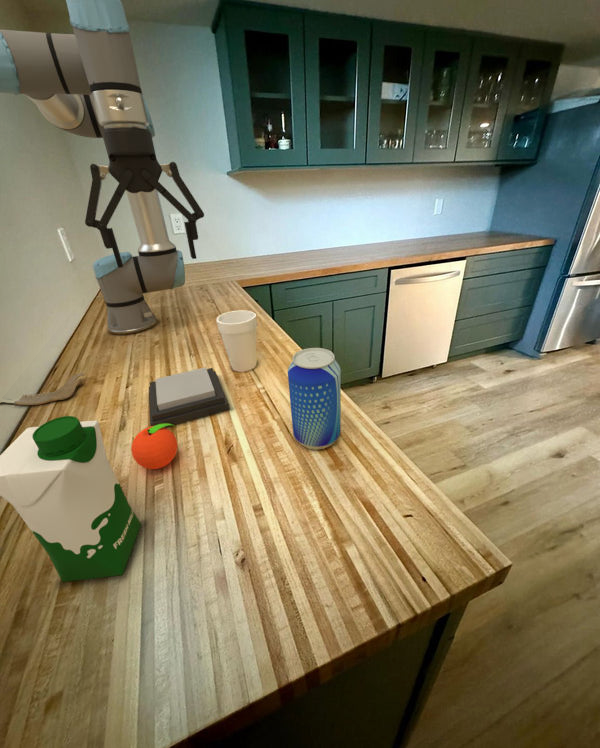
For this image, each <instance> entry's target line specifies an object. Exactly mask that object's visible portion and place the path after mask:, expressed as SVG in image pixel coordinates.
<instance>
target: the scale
mask: <svg viewBox="0 0 600 748" xmlns="http://www.w3.org/2000/svg"><path fill="white" fill-rule="evenodd" d="M206 369H207V371H208V374H209V377H210V380H211V382H212V385H213V388H214V391H215V395H216V396H214V397H210V398H207V399H203V400H199V401H195V402H191V403H187V404H184V405H180V406H176V407H172V408H168V409H164V410H161V411H159V409H158V406H157V395H156V381H155V380H154V381H150V382H149V386H148V400H149V425H150V427H151V426H155V425H158V424H165V423H167V424H172V425H168V426H165V427H164V428H168V427H174V426H173V425H175V426H176V425H180V424H183V423H187V422H191V421H193V420H197V419H201V418H205V417H208V416H212V415H215V414H216V415H217V414H219V413H224V412H226V411H230V404H229V401H228V398H227V397H226V394H225V391H224V389H223V386H222V383H221V382H220V379H219V377H218V374H217V372H216V370H214V369H213V367H210V368H206Z"/></svg>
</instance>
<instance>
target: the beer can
mask: <svg viewBox="0 0 600 748" xmlns="http://www.w3.org/2000/svg"><path fill="white" fill-rule="evenodd" d="M335 357H336V356H335V354H334V353H333V351H331V350H329V349H326V348H322V347H309V348H304V349H303V348H302V349H300V350H299V351H297V352H295V353H294V354H293V355H292V358H291V363H290V364H289V366H288V368H287V381H288V393H289V403H290V414H291V415H290V416H291V423H292V424H291V425H292V434H293V437H294V439H295V440H296V442H299V444H300V445H301V446H303V447H304V448H307V449H309V450H316V451H317V450H324V449H327V448H329V447H331V446H333V444H335V442H337V440H338V439H339V437H340V436H341V432H342V431H341V428H342V425H341V424H342V422H341V419H342V418H341V417H342V414H341V413H342V412H341V409H342V407H341V406H342V405H341V403H342V402H341V401H342V398H341V397H342V395H341V394H342V393H341V392H342V391H341V390H342V389H341V388H342V387H341V385H342V383H341V382H342V381H341V379H342V378H341V377H342V375H341V371H342V370H341V367H340V366H341V365H340V364H339V363H338V362H337V360H336V358H335Z"/></svg>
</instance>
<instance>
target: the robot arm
mask: <svg viewBox="0 0 600 748" xmlns="http://www.w3.org/2000/svg"><path fill="white" fill-rule="evenodd" d="M65 2H66V6H67V10H68V11H67V12H68V15H69V22H70V26H71V27H72V30H73V33H57V32H55V33H54V32H41V31H40V32H39V31H24V30H12V29H0V93H2V94H13V95H14V96H19V95H25V97H27V98H28V99H29V100H30V101H31V102H33V103H34V105H36V106H37V108H38V111H39V112H40V113H41V115H42V116H43V117H44V118H45V120H47V121H48V122H49V123H50V124H52V125H53V126H55V127H56V128H58V129H59V130H62V131H64V132H66V133H69V134H72V135H76V136H79V137H84V138H89V139H90V138H91V139H103V143H104V146H105V147H104V148H105V151H106V154H107V159H108V165H100V164H99V165H98V164H96V163H91V164H90V166H89V169H90V174H91V185H90V191H89V197H88V201H87V202H88V203H87V208H86V209H87V210H86V214H85V219H84V224H85V225H86V226H87V227H90V228H95V229H97V230H98V231H99V233H100V237H101V240H102V242H103V245H104V247H105V248H106V250H108V249H112V253H113V254H110V255H107V256H103V257H101V258H99V259H97V260H95V261H94V262H93V264H92V267H93V268H92V269H93V271H94V276H95V279H96V281H97V283H98V286H99V289H100V291H101V295H102V297H103V301H104V302H105V305H106V309H107V310H106V312H107V313H106V314H107V315H106V316H107V317H106V318H107V319H106V321H107V322H106V325H107V329H108V332H109V333H110V334H113V335H118V336H119V335H120V336H123V335H131V334H137V333H140V332H144V331H146V330H148V329H151V328H153V327H154V326H155V325H156V324H157V323H158V320H157V317H156V315H155V313H154V311H152V309H151V307H150V306H149V305H148V303H147V301H146V299H145V296H144V294H149V293H154V292H160V291H162V292H163V291H169V290H171V291H172V290H173V289H179V288H182V287H183V286H184V285H185V284H186V271H185V270H186V269H185V262H184V256H183V255H184V254H183V252H182V251H181V250H180V249H177V245H176V244H175V243H173V242H172V241H171V240H170V237H169V233H168V229H167V225H166V221H165V217H164V216H165V215H164V213H163V208H162V204H161V200H160V195H161V196H162V197H163V198H164V199H165V200H166V201H167V202H168V203H170V205H172V206H173V207H174V208H175V209H176V210H177V211H178V212H179V213H180V214H181V215H182V216H183V217H184V218H185V219H186V220H187V221H184V222H183V223H184V229H185V235H186V239H187V244H188V249H189V254H190V257H191V259H192V260H195V259H197V253H196V248H195V242H194V241H197V240H199V234H198V233H199V232H198V228H197V221H198V220H200V219H203V218H204V217H205V213H204V211H203V209H202V208H201V206H200V205H199V203H198V202H197V200H196V199H195V197H194V195H193V194H192V192H191V191H190V189H189V188H188V186H187V185H186V183H185V182H184V179H183V178H182V177H181V175H180V172H179V169H178V165H177V163H176V161H171V162H169V163H162V164H160V163H159V161H158V159H157V154H156V150H155V145H154V140H153V138H154V137H155V136H156V131H155V127H154V124H153V120H152V117H151V114H150V111H149V107H148V104H147V102H146V99H145V97H144V95H143V90H142V87H141V82H140V78H139V72H138V67H137V63H136V56H135V53H134V48H133V42H132V38H131V34H130V31H131V29H130V26H129V24H128V20H127V18H126V11H125V8H124V5H123V3H122V1H121V0H65ZM163 173H165V174H166V176H167V177H168V178H172V181H173V182H174V183H175V185H176V187H177V188H178V190H179V191H180V192H181V194H182V196H183V197H184V199H185V200H186V202H187V203H188V204H189V206H190V207H191V209H192V211H193V212H190V211H189V210H188V209H187V208H186V206H184V205H183V204H182V203H181V202H180V201H179V200H178V199H177V198H176V197H175V196H174V195H173V194H172V193H171V192H170V191H169V190H168V189H167V188H166V187H165V186H164V185H163V184H162V183H160V181H159V180H160V178H161V176H162V174H163ZM108 174H109V175H110V176H111V177H112V178H114V179H115V180H116V182H117V183H118V185H117V187H116V189H115V190H114V192H113V195H112V196H111V198H110V200H109V202H108V204H107V206H106V208H105V210H104V212H103V213H102V215H101V217H100V220H98V219H96V217H97V213H98V212H97V211H98V206H99V201H100V196H101V189H102V184H103V183H102V182H103V181H104V180H106V179H107V175H108ZM125 192H126V195H127V199H128V202H129V206H130V211H131V213H132V216H133V220H134V224H135V227H136V231H137V234H138V238H139V241H140V245H139V247H138V248H137V254H138V255H135V256H133V254H132V253H131V252H130V251H124V252H123V251H122V252H120V249H119V246H118V243H117V239H116V236H115V233H114V230H113V227H108V225H109V223H110V221H111V219H112V218H113V215H114V213H115V212H116V210H117V207H118V206H119V204H120V202H121V200H122V198H123V196H124V194H125ZM159 194H160V195H159Z"/></svg>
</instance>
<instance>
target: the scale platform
mask: <svg viewBox="0 0 600 748" xmlns="http://www.w3.org/2000/svg"><path fill="white" fill-rule="evenodd" d="M207 369H208V368H207V367H201V368H197V369H192V370H188V371H183V372H179V373H175V374H171V375H167V376H162V377H158V378H157V377H156V378H155V380H154V381H156V395H157V406H158V409H159V411H161V410H164V409H168V408H172V407H176V406H180V405H184V404H187V403H191V402H195V401H199V400H203V399H207V398H210V397H214V396H216V395H215V391H214V388H213V385H212V382H211V380H210V377H209V374H208V371H207Z"/></svg>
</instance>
